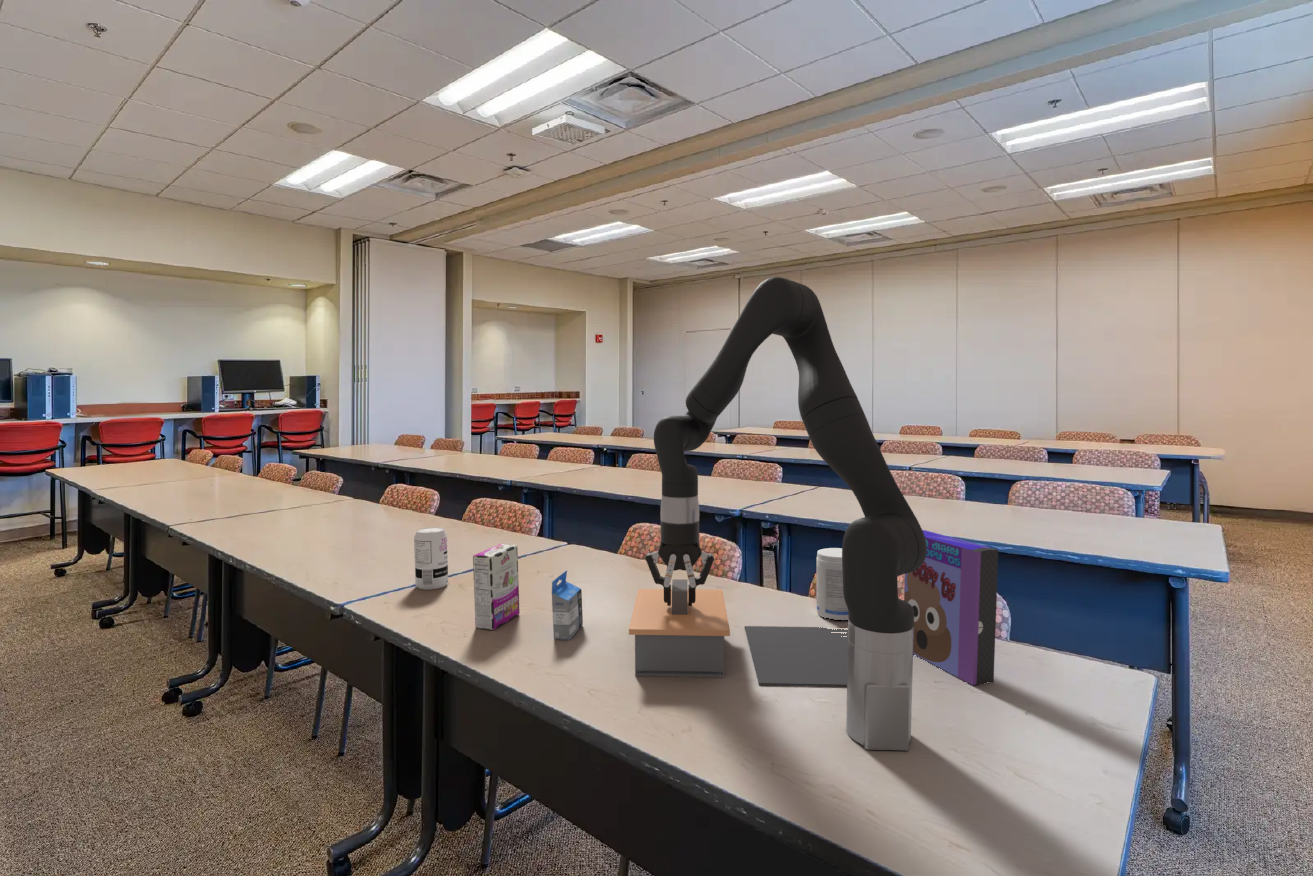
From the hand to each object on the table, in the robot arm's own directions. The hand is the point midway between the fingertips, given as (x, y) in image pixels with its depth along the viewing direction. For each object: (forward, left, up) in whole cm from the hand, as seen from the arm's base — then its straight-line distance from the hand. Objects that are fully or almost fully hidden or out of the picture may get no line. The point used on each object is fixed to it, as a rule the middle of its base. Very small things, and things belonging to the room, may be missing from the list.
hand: (679, 604), depth 130 cm
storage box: (0, 0, -10) cm, 10 cm away
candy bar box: (+16, +41, -10) cm, 45 cm away
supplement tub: (+23, -36, -10) cm, 44 cm away
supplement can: (+42, +66, -10) cm, 79 cm away
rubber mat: (0, -26, -10) cm, 28 cm away
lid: (0, 0, -2) cm, 2 cm away
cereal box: (-4, -50, -10) cm, 51 cm away
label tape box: (+10, +24, -10) cm, 28 cm away
